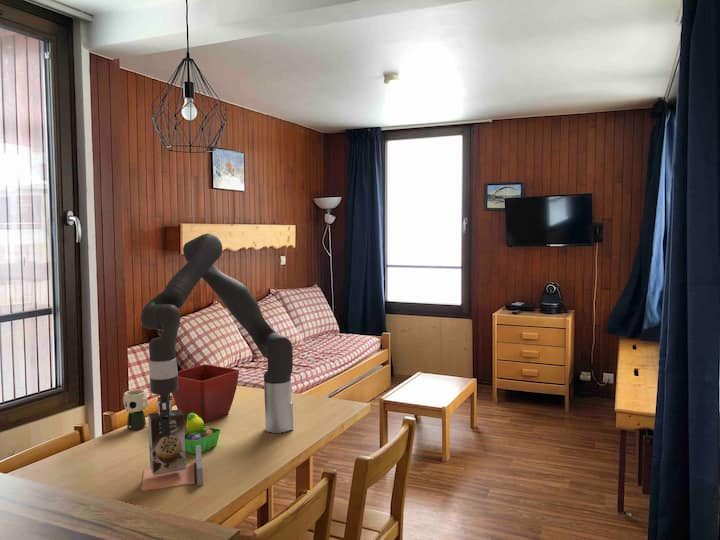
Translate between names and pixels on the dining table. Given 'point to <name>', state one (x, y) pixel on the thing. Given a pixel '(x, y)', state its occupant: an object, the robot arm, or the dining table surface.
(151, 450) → the coffee box
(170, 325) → the robot arm
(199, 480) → the low wall
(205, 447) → the fruit basket
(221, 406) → the plant pot
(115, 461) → the dining table surface
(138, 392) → the character mug
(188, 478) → the mat
